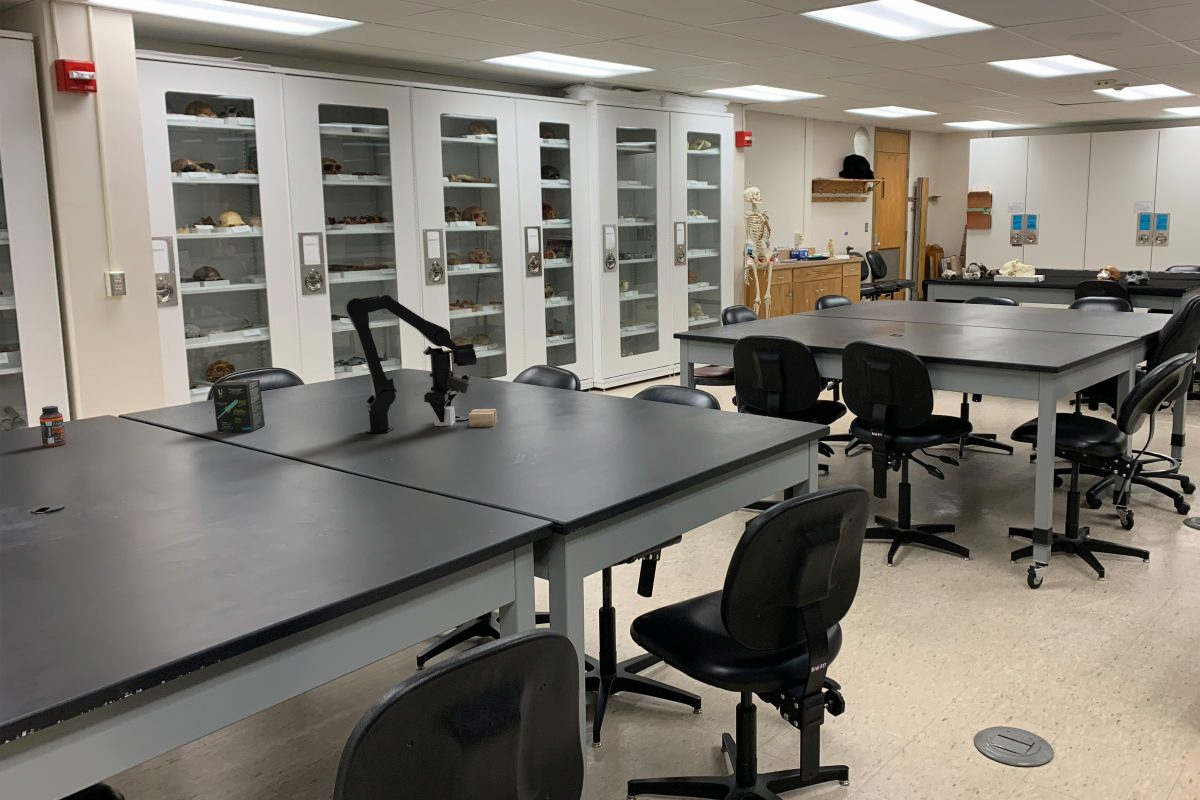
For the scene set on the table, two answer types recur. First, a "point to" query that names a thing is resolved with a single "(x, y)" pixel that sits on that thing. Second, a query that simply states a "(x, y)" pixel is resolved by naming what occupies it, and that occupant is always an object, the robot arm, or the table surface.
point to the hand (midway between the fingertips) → (444, 420)
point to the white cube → (446, 417)
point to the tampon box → (238, 406)
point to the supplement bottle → (52, 427)
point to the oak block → (482, 417)
